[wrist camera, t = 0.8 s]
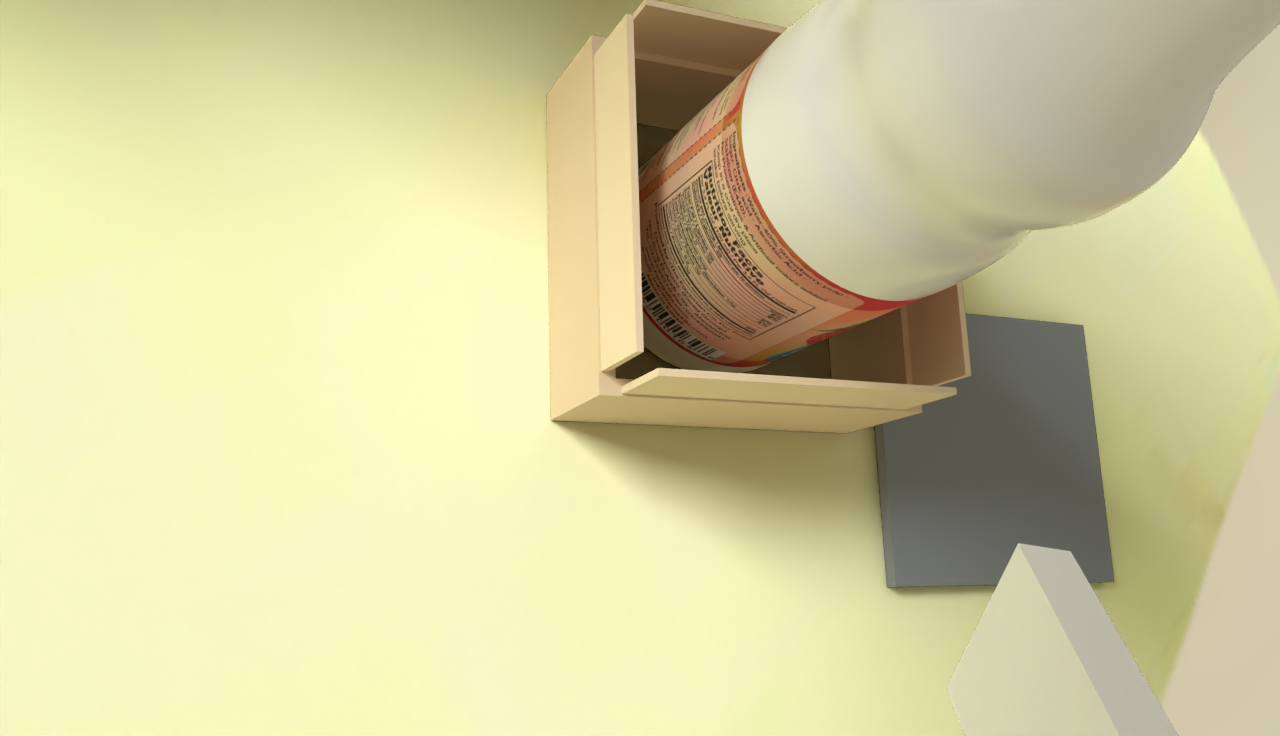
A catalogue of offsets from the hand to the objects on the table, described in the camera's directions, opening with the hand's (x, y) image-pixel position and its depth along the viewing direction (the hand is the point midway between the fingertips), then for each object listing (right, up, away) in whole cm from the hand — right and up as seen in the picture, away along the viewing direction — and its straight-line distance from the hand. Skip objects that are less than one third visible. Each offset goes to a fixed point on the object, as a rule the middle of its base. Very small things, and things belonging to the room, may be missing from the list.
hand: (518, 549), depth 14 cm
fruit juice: (+4, +6, +31) cm, 32 cm away
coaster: (+17, -1, +35) cm, 39 cm away
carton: (+4, +6, +31) cm, 32 cm away
